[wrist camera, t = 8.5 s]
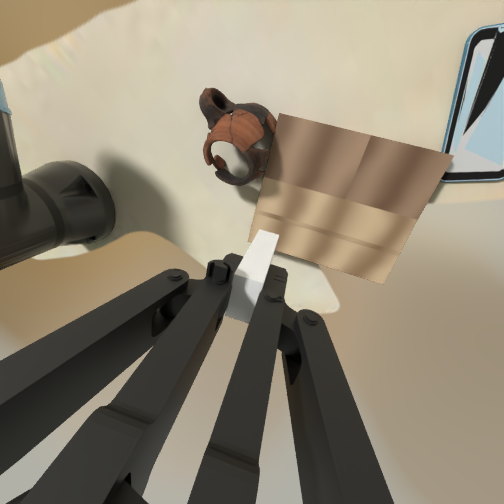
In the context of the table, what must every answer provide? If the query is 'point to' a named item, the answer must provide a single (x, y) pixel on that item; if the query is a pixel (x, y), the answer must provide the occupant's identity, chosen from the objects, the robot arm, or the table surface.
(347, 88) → the table surface
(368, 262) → the plank
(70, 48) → the table surface
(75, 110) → the table surface
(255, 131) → the pottery mug
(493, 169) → the smartphone
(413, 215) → the floor boards
